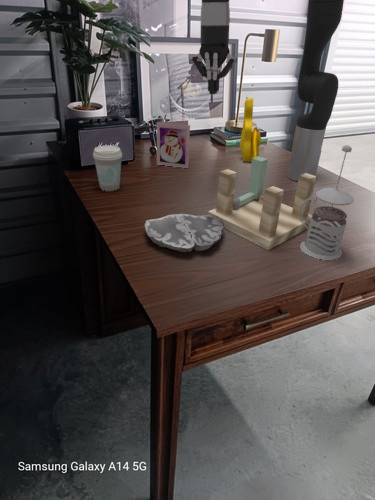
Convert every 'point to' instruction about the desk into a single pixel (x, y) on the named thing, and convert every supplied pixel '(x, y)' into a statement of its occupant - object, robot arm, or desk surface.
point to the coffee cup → (108, 166)
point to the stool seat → (264, 211)
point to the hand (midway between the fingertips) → (213, 93)
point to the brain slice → (185, 231)
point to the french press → (321, 242)
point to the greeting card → (173, 143)
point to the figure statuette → (249, 134)
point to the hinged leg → (254, 182)
